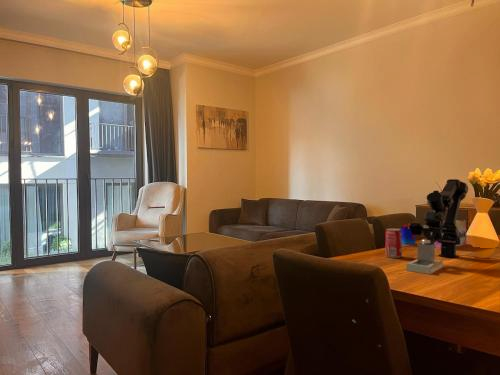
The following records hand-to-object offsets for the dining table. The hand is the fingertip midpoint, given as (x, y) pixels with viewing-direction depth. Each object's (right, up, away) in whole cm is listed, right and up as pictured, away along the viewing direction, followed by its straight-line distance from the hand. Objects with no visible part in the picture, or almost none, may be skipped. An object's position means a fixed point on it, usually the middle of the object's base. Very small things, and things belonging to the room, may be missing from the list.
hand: (428, 245), depth 161 cm
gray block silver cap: (-2, -7, -2) cm, 8 cm away
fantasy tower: (+13, -8, +52) cm, 54 cm away
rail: (-2, -9, -2) cm, 9 cm away
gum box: (+33, -8, +49) cm, 60 cm away
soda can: (-7, -8, +21) cm, 23 cm away
